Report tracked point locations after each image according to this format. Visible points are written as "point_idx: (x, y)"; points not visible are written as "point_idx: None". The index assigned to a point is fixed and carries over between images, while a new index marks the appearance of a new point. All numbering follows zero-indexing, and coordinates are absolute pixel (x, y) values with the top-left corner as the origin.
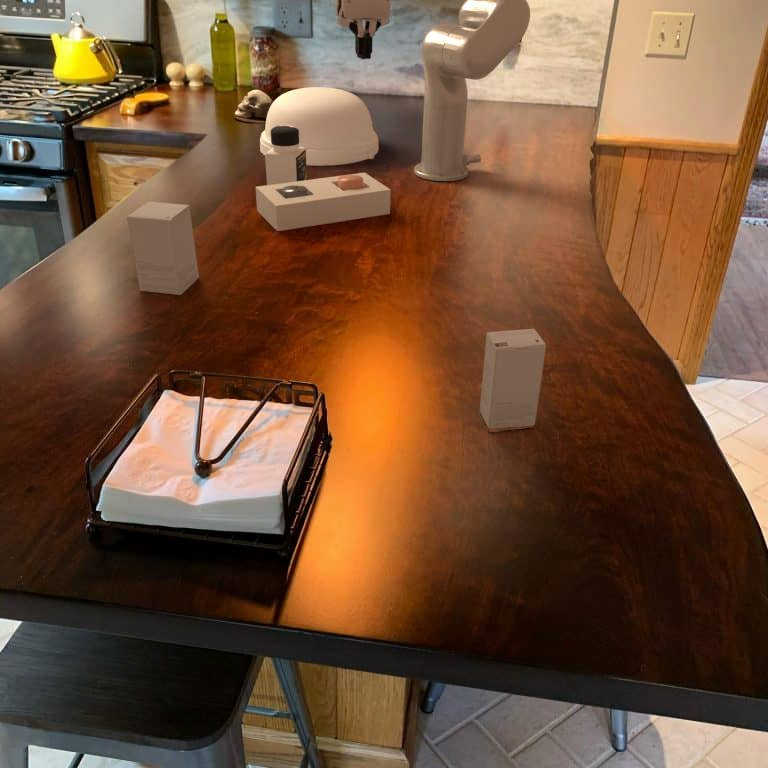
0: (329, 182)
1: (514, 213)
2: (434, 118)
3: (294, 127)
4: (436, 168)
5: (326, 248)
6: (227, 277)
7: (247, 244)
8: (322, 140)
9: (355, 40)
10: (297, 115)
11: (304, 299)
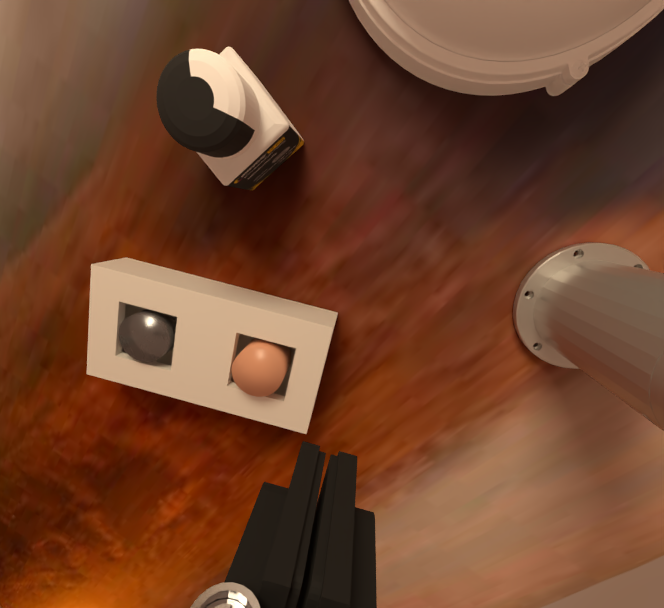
0: (231, 333)
1: (482, 525)
2: (621, 380)
3: (225, 116)
4: (543, 336)
5: (153, 444)
6: (8, 434)
7: (62, 367)
8: (424, 16)
9: (234, 559)
10: None
11: (67, 525)
